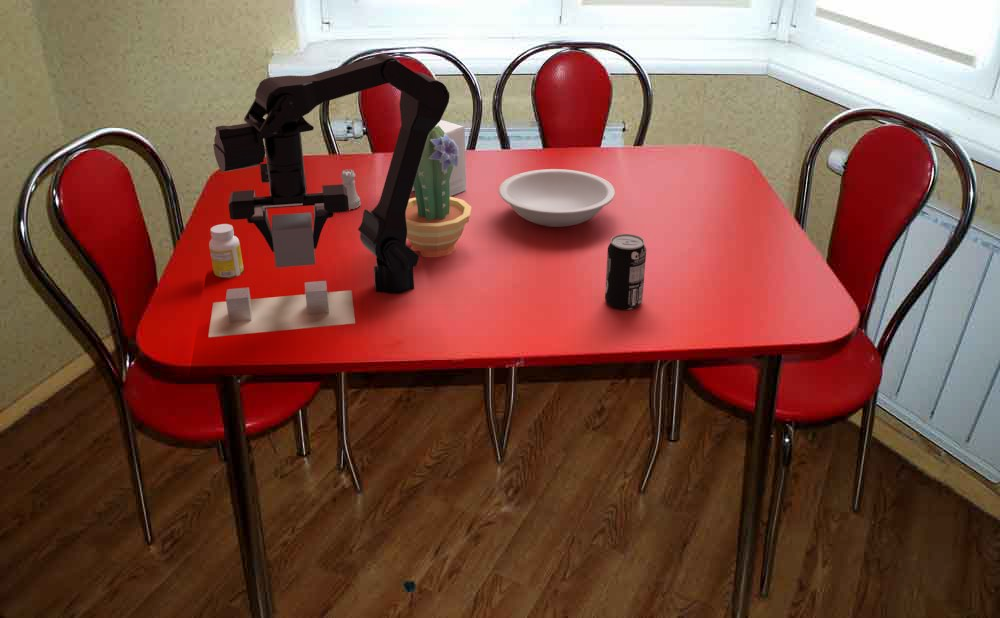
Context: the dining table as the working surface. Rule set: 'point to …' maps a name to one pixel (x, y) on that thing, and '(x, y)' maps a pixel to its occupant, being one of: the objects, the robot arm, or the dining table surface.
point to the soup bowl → (556, 196)
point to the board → (283, 315)
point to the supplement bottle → (225, 252)
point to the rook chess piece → (350, 188)
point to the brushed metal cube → (239, 305)
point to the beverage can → (625, 271)
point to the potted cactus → (436, 200)
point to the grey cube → (316, 297)
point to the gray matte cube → (293, 240)
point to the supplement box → (459, 172)
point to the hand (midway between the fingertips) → (294, 249)
